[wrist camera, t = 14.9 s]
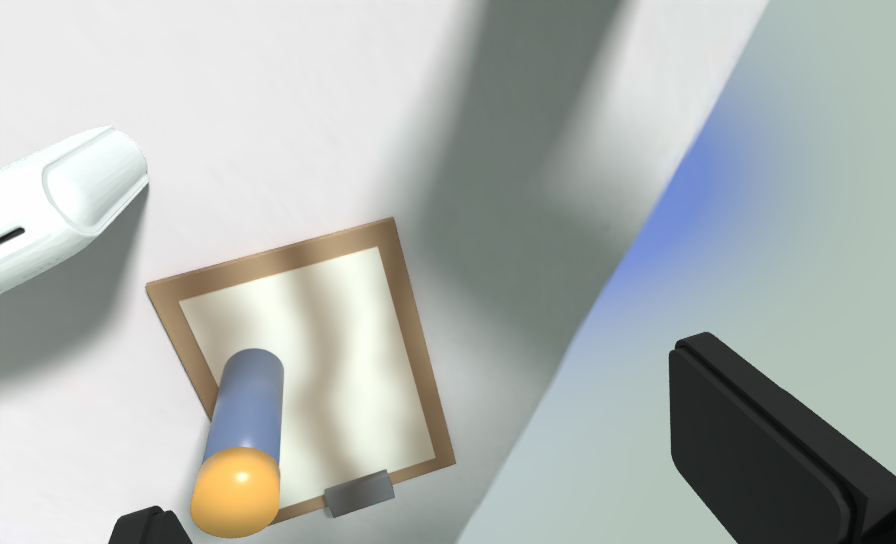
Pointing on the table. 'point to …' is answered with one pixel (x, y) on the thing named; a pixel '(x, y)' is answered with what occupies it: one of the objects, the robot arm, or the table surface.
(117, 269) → the table surface
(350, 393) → the clipboard
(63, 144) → the photo printer
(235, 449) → the cylinder
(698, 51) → the table surface
